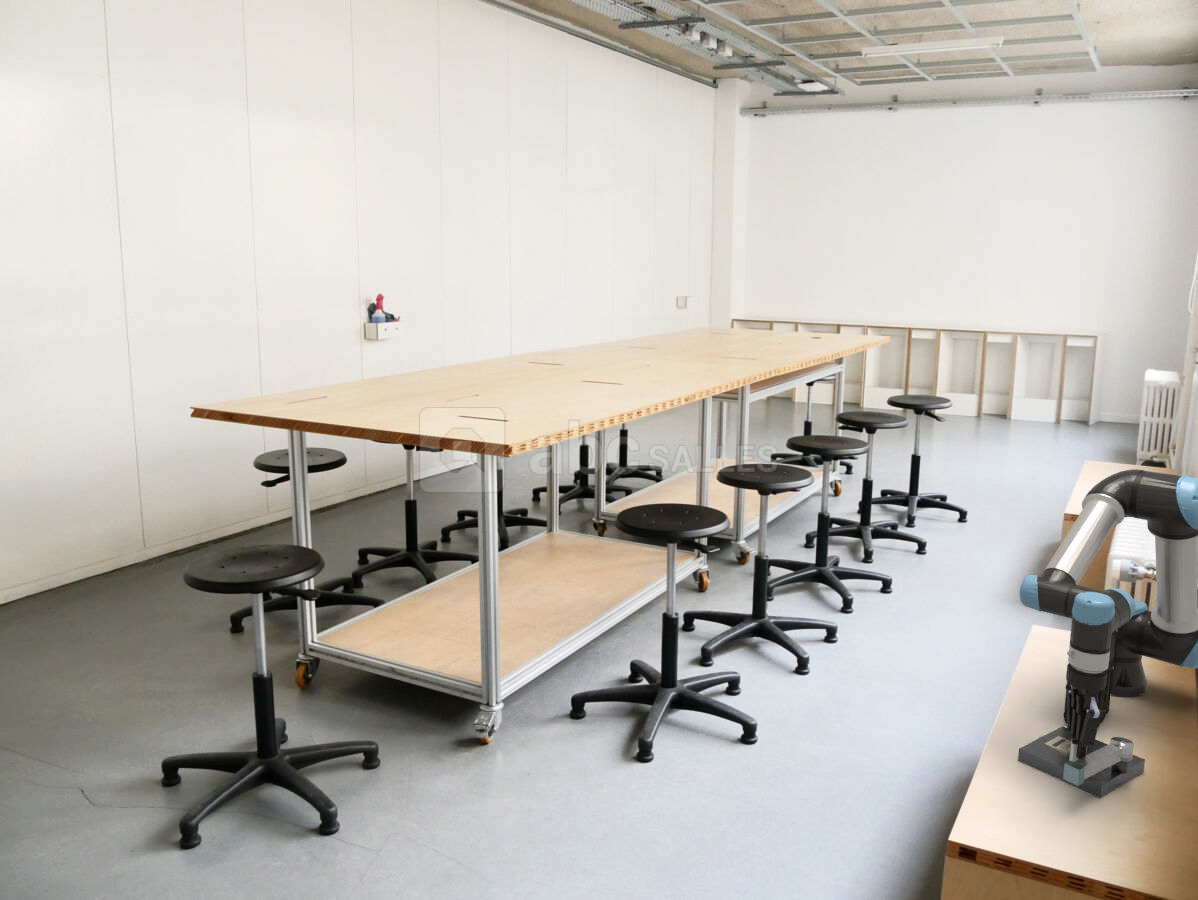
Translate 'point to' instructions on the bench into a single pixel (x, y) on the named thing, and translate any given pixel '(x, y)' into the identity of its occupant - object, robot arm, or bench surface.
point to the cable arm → (1098, 760)
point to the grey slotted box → (1056, 751)
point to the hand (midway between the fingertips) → (1076, 769)
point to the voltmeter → (1106, 692)
